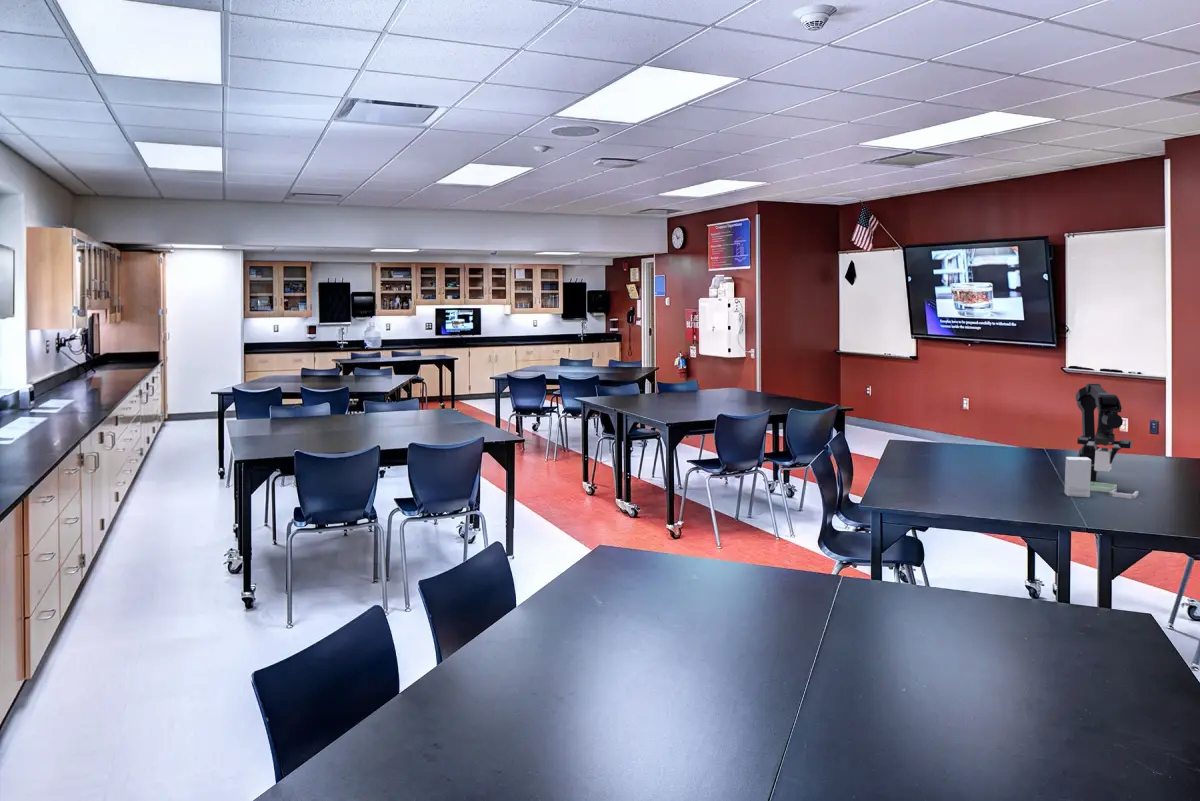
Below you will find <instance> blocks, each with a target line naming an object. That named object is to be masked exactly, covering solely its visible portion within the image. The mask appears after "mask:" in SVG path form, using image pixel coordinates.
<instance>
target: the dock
mask: <svg viewBox="0 0 1200 801" xmlns="http://www.w3.org/2000/svg"><path fill="white" fill-rule="evenodd" d="M1117 490H1118V489H1113V490H1112V491H1110V492H1109V494H1108V496H1109V497H1114V498H1121V499H1122V498H1124V499H1130V500H1135V499H1136V498H1137V497H1138V496H1139V490H1135V491H1134V493H1128V492H1127V493H1125V492H1118V491H1117Z"/></svg>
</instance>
